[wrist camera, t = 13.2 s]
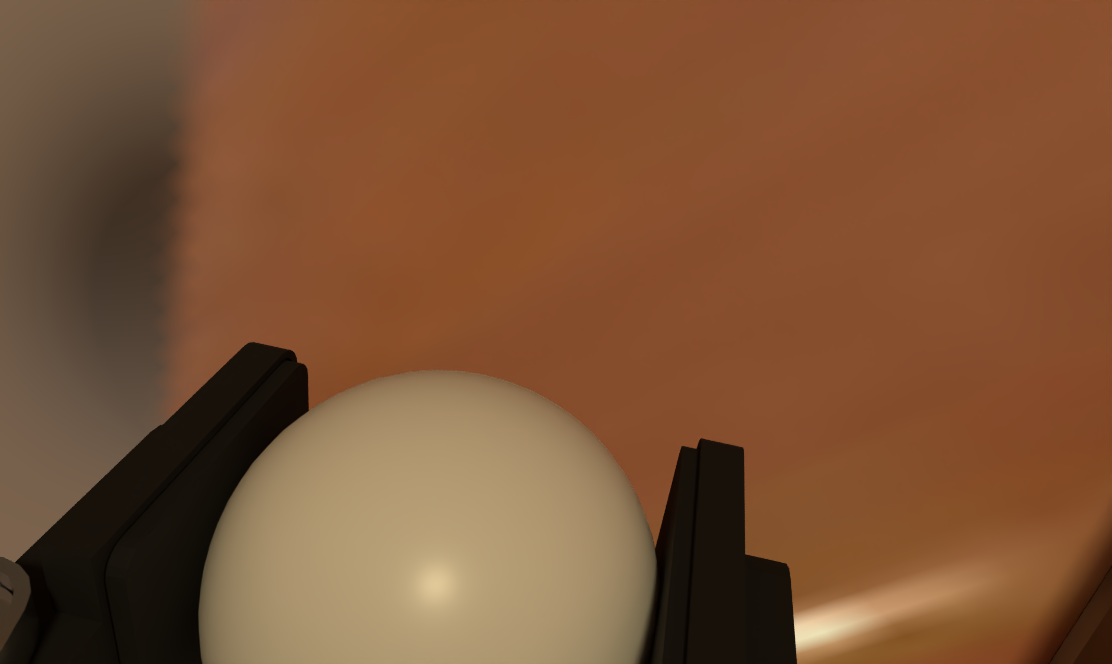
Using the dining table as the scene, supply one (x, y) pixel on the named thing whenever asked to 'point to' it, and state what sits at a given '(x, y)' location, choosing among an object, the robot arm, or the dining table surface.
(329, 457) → the cream ball
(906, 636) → the dining table surface
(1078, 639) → the tray
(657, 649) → the robot arm
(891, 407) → the dining table surface
